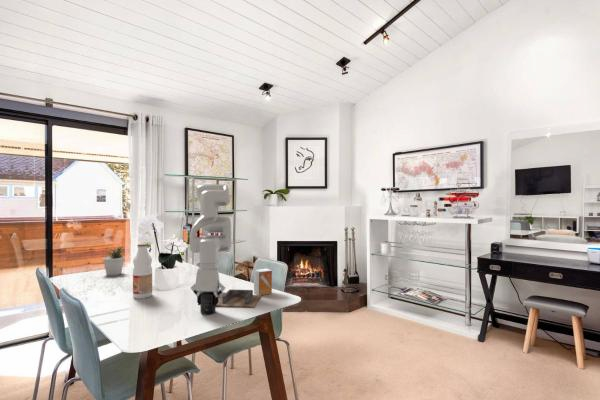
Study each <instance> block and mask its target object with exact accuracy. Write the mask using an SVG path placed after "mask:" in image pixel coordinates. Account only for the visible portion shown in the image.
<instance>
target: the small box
mask: <svg viewBox="0 0 600 400" xmlns="http://www.w3.org/2000/svg"><path fill="white" fill-rule="evenodd" d="M272 280H273V271H272V269H269V268H260V269H254V271H253V294H254V295H261V296H265V295H272V293H273V292H272V291H273V288H272V287H273V281H272Z"/></svg>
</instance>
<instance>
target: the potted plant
mask: <svg viewBox="0 0 600 400" xmlns="http://www.w3.org/2000/svg"><path fill="white" fill-rule="evenodd" d="M113 248H114V250H113V249H110V248H109V251H106V254H107V256H104V257H103V258H102V260H103V262H104V263H103V264H104V269H105V273H106V274H105V275H106V276H108V277H113V276H119V275H121V274H122V271H123V267H124V266H123V265H124V260H125V256H126V254H124V253H122V252H124V250H125V248H123V246H122V244H121V245H120V246H118V247H117V248H116V247H115V246H113Z"/></svg>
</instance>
